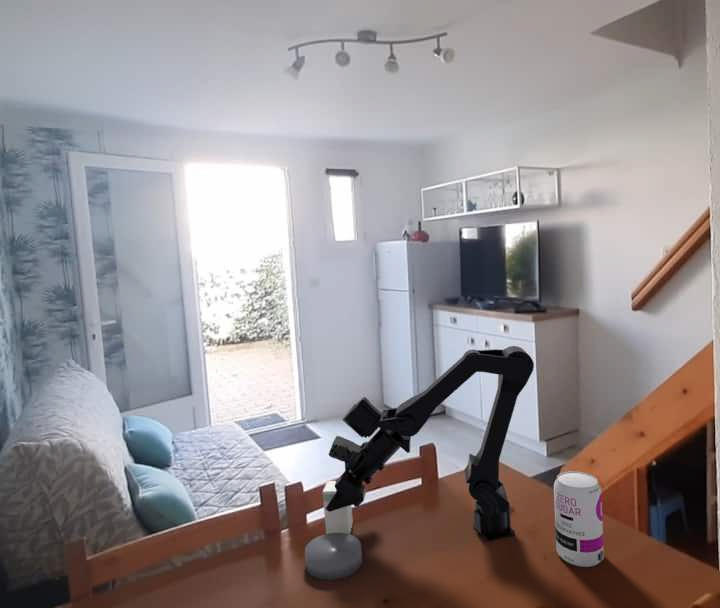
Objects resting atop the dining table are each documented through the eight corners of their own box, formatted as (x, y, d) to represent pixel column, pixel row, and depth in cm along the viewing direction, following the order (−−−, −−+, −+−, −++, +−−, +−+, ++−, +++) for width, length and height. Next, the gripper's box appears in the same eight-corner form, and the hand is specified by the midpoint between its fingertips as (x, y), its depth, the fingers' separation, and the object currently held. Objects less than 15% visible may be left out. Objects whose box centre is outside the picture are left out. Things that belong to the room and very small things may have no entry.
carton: (352, 524, 114) (349, 481, 113) (349, 536, 109) (345, 491, 108) (330, 524, 115) (327, 481, 114) (326, 536, 110) (322, 491, 109)
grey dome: (353, 542, 107) (352, 528, 106) (369, 571, 96) (367, 556, 96) (301, 553, 104) (300, 539, 103) (311, 585, 93) (310, 570, 93)
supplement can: (603, 547, 98) (600, 472, 97) (604, 572, 91) (601, 491, 90) (558, 540, 102) (555, 468, 100) (555, 564, 94) (551, 486, 93)
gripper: (356, 412, 119) (313, 459, 121) (341, 441, 100) (292, 495, 103) (392, 444, 118) (348, 491, 121) (384, 479, 100) (333, 533, 102)
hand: (331, 500), depth 112 cm, fingers open, 8 cm apart
